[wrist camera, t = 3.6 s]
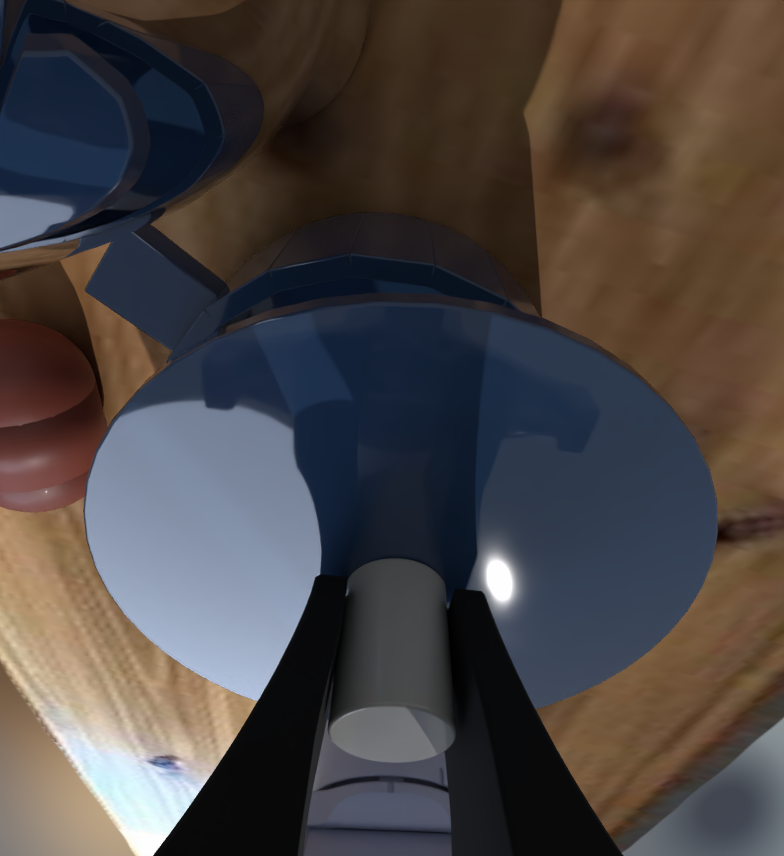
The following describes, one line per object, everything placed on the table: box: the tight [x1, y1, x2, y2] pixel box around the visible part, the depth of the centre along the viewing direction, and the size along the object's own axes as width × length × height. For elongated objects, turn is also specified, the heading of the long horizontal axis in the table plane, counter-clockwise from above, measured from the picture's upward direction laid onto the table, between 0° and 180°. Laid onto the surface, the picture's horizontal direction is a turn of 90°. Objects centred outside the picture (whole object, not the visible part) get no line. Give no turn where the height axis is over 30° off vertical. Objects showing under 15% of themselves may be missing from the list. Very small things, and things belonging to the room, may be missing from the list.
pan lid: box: [83, 292, 718, 763], centre depth 11 cm, size 14×14×4 cm
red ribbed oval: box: [0, 319, 108, 512], centre depth 18 cm, size 8×5×5 cm, turn 172°
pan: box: [85, 212, 540, 364], centre depth 18 cm, size 13×19×5 cm
